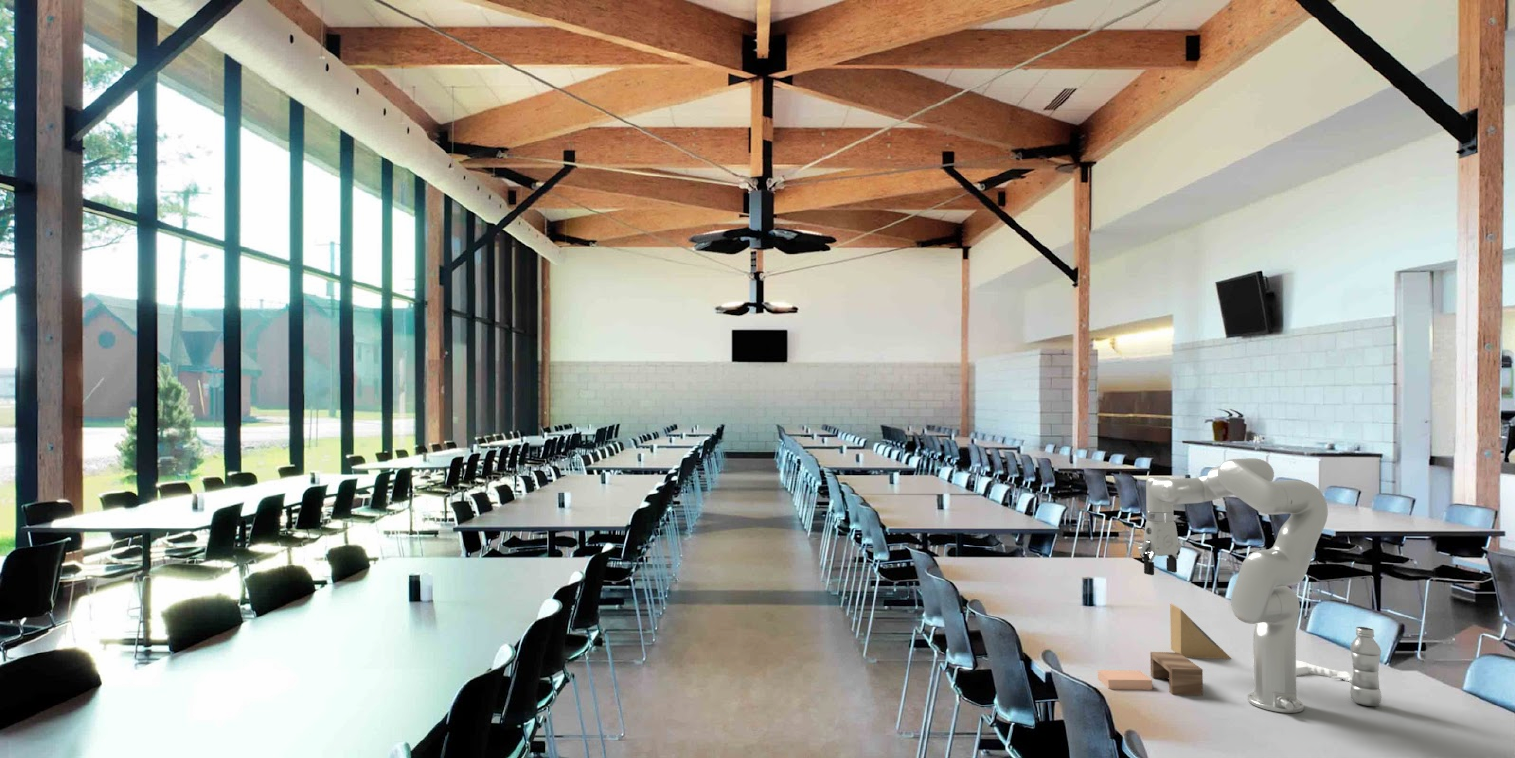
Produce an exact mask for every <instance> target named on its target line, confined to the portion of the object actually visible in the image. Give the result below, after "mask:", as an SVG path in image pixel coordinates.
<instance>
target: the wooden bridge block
mask: <svg viewBox="0 0 1515 758" xmlns="http://www.w3.org/2000/svg"><path fill="white" fill-rule="evenodd" d="M1150 677H1151V678H1152V679H1155V678H1169V679H1168V680H1169V681H1168V683H1169V685H1168V686H1169V689H1168V690H1169V693H1170V694H1171V695H1175V696H1177V695H1179V696H1181V695H1182V696H1203V695H1204V686H1203V683H1204V681H1203V679H1204V675H1203V669H1202V668H1201V667H1200V666H1198V665H1197V664H1196V663H1194V662H1193V661H1191V659H1188V657H1184V656H1183V655H1181V654H1180V653H1175V652H1170V651H1169V652H1167V651H1166V652H1163V651H1162V652H1161V651H1150Z"/></svg>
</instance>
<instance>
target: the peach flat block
mask: <svg viewBox="0 0 1515 758" xmlns="http://www.w3.org/2000/svg"><path fill="white" fill-rule="evenodd" d="M1097 680H1098V681H1100V683H1102V684H1103V686H1105V688H1107V689H1109V690H1150V689H1151V690H1153V679H1151V678H1150V677H1149V676H1148V675H1147V674H1145V673H1144V672H1143V671H1141V670H1123V669H1122V670H1120V669H1117V670H1115V669H1114V670H1113V669H1108V670H1107V669H1098V670H1097ZM1151 690H1150V691H1151Z"/></svg>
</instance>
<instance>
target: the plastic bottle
mask: <svg viewBox="0 0 1515 758" xmlns="http://www.w3.org/2000/svg"><path fill="white" fill-rule="evenodd" d="M1355 629H1356V630H1355V631H1356V632H1355V635H1356V638H1354V640H1352V642H1350V646H1349V647H1350V654H1351V660H1352V677H1353V678H1352V683H1351V685H1350V691H1349V693H1350V698H1351V700H1352V701H1353V702H1354V703H1356V704H1359V705H1362V706H1368V707H1377V706H1379V705H1380V704H1381V701H1382V693H1381V692H1382V691H1381V689H1380V681H1379V679H1380V678H1379V669H1380V660H1381V654H1382V650H1381V647H1380V646H1379V644H1378V642H1376V640H1375V639H1374V638H1375V631H1374V628H1371V627H1367V626H1356V628H1355Z"/></svg>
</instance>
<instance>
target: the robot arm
mask: <svg viewBox="0 0 1515 758" xmlns="http://www.w3.org/2000/svg"><path fill="white" fill-rule="evenodd" d="M1274 477H1275V471H1274V469H1273V466H1272V465H1271V464H1270V463H1269V462H1267V461H1266V460H1264V459H1261V458H1257V457H1255V458H1254V457H1253V458H1246V457H1245V458H1231V459H1227V460H1225V461H1224V462H1222V463H1221V464H1220V466H1216V467H1213V468H1211V469H1210V470H1209V471H1208V472H1207V475H1203V476H1199V477H1190V478H1189V477H1186V478H1183V477H1182V478H1170V477H1166V476H1165V477H1164V476H1150V477H1148V478H1146V480H1145V486H1146V487H1145V489H1146V490H1145V492H1146V497H1145V499H1146V500H1145V502H1146V504H1145V505H1146V506H1145V507H1146V512H1145V513H1146V514H1145V515H1146V516H1145V518H1146V522H1145V524H1144V525H1145V526H1144V533H1143V543H1142V544H1141V545H1140V546H1139V547H1138V548H1137V550H1138V552H1139V555H1140V558H1141V559H1142V561H1143V573H1144V574H1145V575H1148V576H1154V575H1155V562H1154V559H1155V557H1156V556H1157V557H1164V556H1167V557H1166V571H1167V572H1170V573H1177V572H1178V563H1177V562H1178V559H1179V555H1180V553H1181V549H1182V546H1183V545H1182V544H1181V543H1180V542H1179V539H1178V538H1179V536H1178V531H1177V530H1178V529H1177V525H1176V524H1177V523H1176V522H1175V521H1174V517H1175V516H1174V505H1184V504H1187V505H1188V504H1199V503H1201V504H1202V503H1206V502H1211V501H1214V500H1215V501H1216V500H1219V499H1224V498H1226V497H1230V496H1235V497H1236V498H1238V499H1239V500H1240V501H1243V503H1245V504H1246V505H1248V506H1249V507H1250V508H1252V509H1254V510H1256V511H1258V512H1259V513H1262V514H1265V515H1272V516H1273V515H1283V514H1284V515H1288V514H1290V515H1289V517H1288V519H1287V520H1286V521H1285V522H1284V523H1283V524H1282V526H1281V527H1280V528H1279V531H1278V534H1277V537H1276V540H1275V542H1274V543H1273V546H1272V547H1270V548H1269V549H1261V550H1260V549H1259V550H1255V551H1253V552H1251V553H1249V554H1248V555H1247V556H1246V557H1245V558H1244V560H1243V562H1242V564H1241V566H1240V569H1239V572H1238V575H1237V578H1236V581H1235V584H1234V587H1233V590H1232V593H1231V597H1230V606H1231V611H1232V613H1233V615H1234V616H1235V617H1236V618H1237V619H1238V620H1239V621H1241V622H1243V623H1245V624H1250V625H1253V624H1254V625H1255V626H1254V630H1253V656H1254V667H1253V692H1250V693H1248V695H1247V696H1246V697H1247V701H1248V702H1249V703H1250V704H1252V705H1253V706H1255V707H1258V708H1260V709H1264V710H1267V711H1271V712H1276V713H1277V712H1278V713H1286V714H1289V713H1291V714H1293V713H1294V714H1295V713H1300V712H1302V711H1303V710H1304V708H1305V705H1304V703H1303V702H1302V701H1301V700H1299V699H1297V676H1296V660H1297V628H1298V627H1297V626H1298V620H1299V615H1300V610H1301V605H1300V600H1299V598H1298V595H1297V593H1295V591H1294V590H1293V589H1291V587H1289V586H1293V585H1298V584H1300V583H1301V582H1302V581H1303V580H1304V578H1305V577H1306V574H1307V572H1308V568H1309V567H1310V563H1311V561H1312V558H1313V557H1314V556H1313V555H1314V553H1315V550H1316V548H1317V544H1318V542H1319V539H1320V537H1321V536H1322V532H1323V530H1324V528H1325V527H1326V523H1327V520H1328V515H1329V508H1328V504H1327V499H1326V498H1325V496H1324V494H1323V493H1322V491H1321V490H1320V489H1319V488H1318V487H1317V486H1315V485H1314V484H1312V483H1311V482H1308V481H1304V480H1298V479H1297V480H1296V479H1293V480H1292V479H1291V480H1290V479H1289V480H1288V479H1287V480H1274ZM1273 480H1274V481H1273Z"/></svg>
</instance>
